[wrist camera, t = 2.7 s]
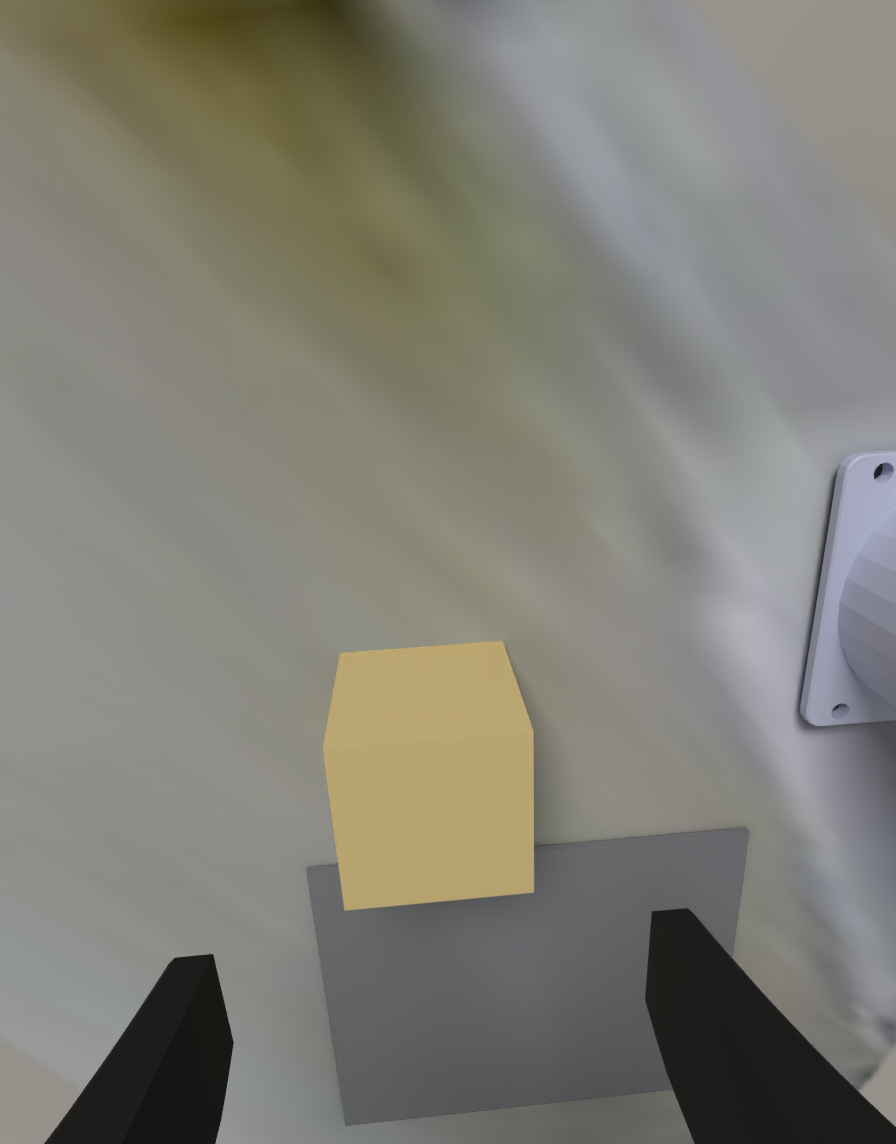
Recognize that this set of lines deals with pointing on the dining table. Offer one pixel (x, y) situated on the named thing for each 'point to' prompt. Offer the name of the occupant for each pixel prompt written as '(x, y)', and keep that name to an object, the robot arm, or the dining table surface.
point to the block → (430, 776)
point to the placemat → (515, 979)
